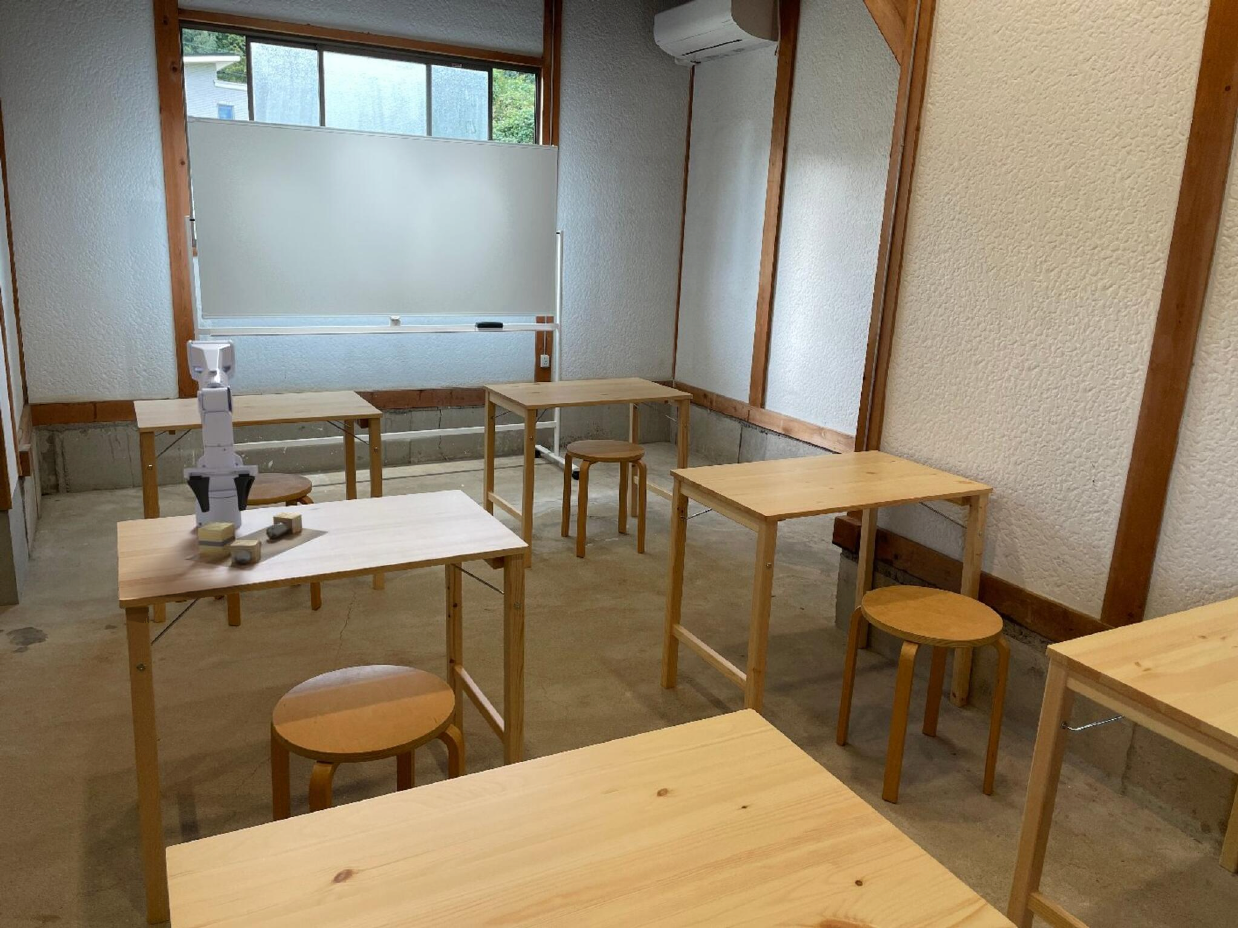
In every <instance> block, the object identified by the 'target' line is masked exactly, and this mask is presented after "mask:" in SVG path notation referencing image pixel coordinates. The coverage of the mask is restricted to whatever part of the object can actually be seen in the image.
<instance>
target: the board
mask: <svg viewBox="0 0 1238 928" xmlns="http://www.w3.org/2000/svg"><path fill="white" fill-rule="evenodd" d="M273 525H274V523H273V524H271V525H268V526H265V527H263V528H261V529H258V530H256V531H254V532H251V533H249V534H246V535H245V534H244V535H242V536H240V537H239V538H235V540H250V539H252V538H256V539H259V540H260V541H261V544H262V546H261V558H260V559H259V560H258V561H257V563H247V564H245V565H238V564H237V563H231V554H229V555H228V556H226V557H224V558H213V557H200V553H197V554H194V555H192V556H189V557H187V558H185V559H184V560H186V561H190V562H191V561H192V562H197V563H203V564H209V565H216V566H220V567H227V568H231V569H237V570H238V569H239V570H247V569H249V568H251V567H254V566H256V565H258V564H260V563H262V562H264V561H267V560H269V559H271V558H274V557H275V556H278V555H280V554H283V553H284V552H286V551H287V552H288V551H289V550H291V549H295V548H296V547H298V546H300V545H303V544H305V543H307V542H309V541H313V540H314V539H317V538H319V537H321V536H323V535H325V534H326V535H327V533H329V531H326V530H319V529H313V528H305V527H302V531H300V532H298V533H296V534H294V535H290V534H284V535H282V536H280V537H278V538H276V539H270V538H268V536H267V534H266V530H267V529H268V528H269V527H271V526H273Z"/></svg>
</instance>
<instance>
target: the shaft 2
mask: <svg viewBox="0 0 1238 928" xmlns="http://www.w3.org/2000/svg"><path fill="white" fill-rule="evenodd" d="M272 516H273V515H272ZM302 517H303V516H302V514H301V513H293V512H283V511H282V512H281V513H277V514H276V515H274V516H273V517H272V519H273V524H274V525H273V524H272V525H273V526H271V525H270V526H271V527H269V528H268V529H267V530H266V534H267V536H268V538H270V539H276V538H278V537H280V536H282V535H284V534H290V535H294V534H296V533H298V532H300V531H302V528H303V520H302Z"/></svg>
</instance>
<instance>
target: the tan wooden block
mask: <svg viewBox="0 0 1238 928" xmlns="http://www.w3.org/2000/svg"><path fill="white" fill-rule="evenodd" d="M197 534H198V535H197V536H198V547H199V554H200V557H213V558H224V557H226V556H228V555H229V554H231V550H230V545H231V544H232V543H233V542H234V541H235V539H236V534H235V528H234V523H220V522H210V523H209V524H207V525H205V526H203V527H199V528H197Z"/></svg>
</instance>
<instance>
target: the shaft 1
mask: <svg viewBox="0 0 1238 928" xmlns="http://www.w3.org/2000/svg"><path fill="white" fill-rule="evenodd" d="M261 546H262V544H261V541H260V540H259V539H256V538H252V539H250V540H235V541H234V542H233V543H232V544H231V545H230V550H231V563H237V564H238V565H245V564H247V563H257V561H258V560H259V559H260V558H261Z"/></svg>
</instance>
